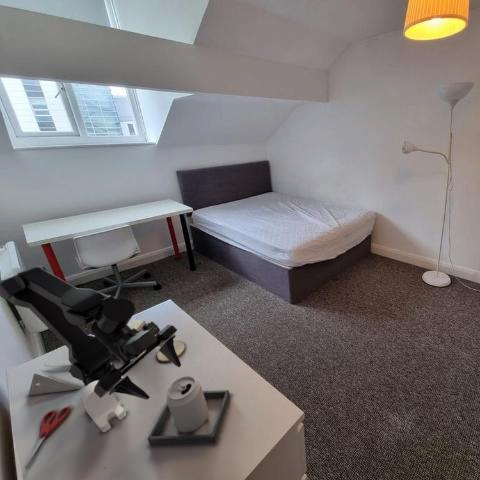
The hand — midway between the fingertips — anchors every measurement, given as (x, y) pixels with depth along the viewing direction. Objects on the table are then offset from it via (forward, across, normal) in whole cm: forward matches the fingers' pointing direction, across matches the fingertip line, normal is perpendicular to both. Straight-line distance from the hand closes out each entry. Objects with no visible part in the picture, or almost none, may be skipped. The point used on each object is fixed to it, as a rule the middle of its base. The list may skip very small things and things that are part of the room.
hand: (165, 381), depth 65 cm
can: (+12, 0, +5) cm, 13 cm away
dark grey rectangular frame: (+12, 0, +5) cm, 13 cm away
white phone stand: (-4, -6, +21) cm, 22 cm away
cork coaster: (-5, +15, +21) cm, 26 cm away
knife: (-21, +2, +35) cm, 41 cm away
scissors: (-12, -15, +26) cm, 32 cm away
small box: (-14, +15, +30) cm, 37 cm away
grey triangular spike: (-15, -2, +33) cm, 36 cm away
